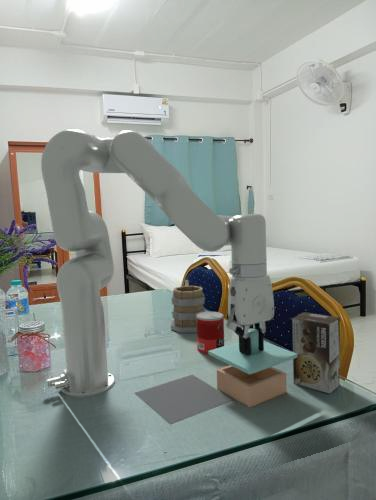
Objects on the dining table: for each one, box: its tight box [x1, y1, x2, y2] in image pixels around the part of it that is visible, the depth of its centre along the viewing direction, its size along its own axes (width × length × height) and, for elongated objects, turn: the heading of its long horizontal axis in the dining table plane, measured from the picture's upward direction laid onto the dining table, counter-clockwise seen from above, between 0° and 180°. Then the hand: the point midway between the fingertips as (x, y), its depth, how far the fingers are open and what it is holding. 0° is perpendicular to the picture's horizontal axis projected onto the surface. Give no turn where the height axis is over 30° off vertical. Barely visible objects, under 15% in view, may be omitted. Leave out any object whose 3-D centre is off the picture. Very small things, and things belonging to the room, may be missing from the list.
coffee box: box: [292, 311, 341, 394], centre depth 91 cm, size 9×6×16 cm
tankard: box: [170, 279, 207, 334], centre depth 141 cm, size 20×13×15 cm, turn 179°
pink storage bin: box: [216, 364, 287, 409], centre depth 88 cm, size 11×11×5 cm
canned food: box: [196, 311, 225, 355], centre depth 114 cm, size 8×8×11 cm
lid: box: [207, 328, 297, 375], centre depth 87 cm, size 14×14×6 cm
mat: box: [134, 374, 234, 425], centre depth 86 cm, size 16×16×1 cm
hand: (251, 350), depth 87 cm, fingers closed on lid, 3 cm apart
